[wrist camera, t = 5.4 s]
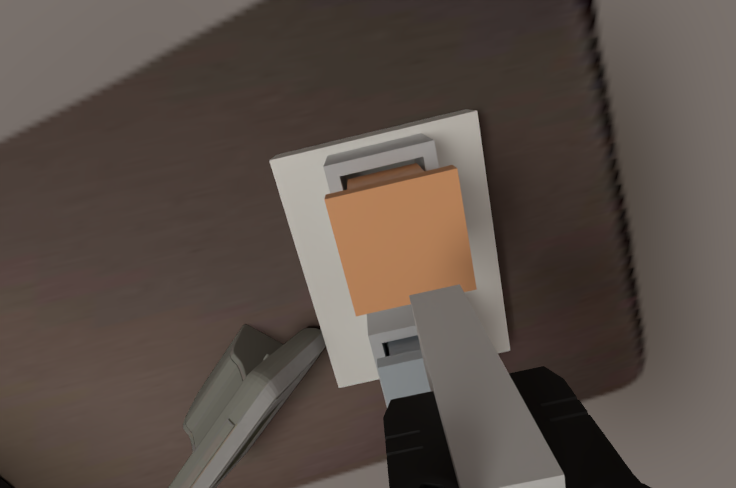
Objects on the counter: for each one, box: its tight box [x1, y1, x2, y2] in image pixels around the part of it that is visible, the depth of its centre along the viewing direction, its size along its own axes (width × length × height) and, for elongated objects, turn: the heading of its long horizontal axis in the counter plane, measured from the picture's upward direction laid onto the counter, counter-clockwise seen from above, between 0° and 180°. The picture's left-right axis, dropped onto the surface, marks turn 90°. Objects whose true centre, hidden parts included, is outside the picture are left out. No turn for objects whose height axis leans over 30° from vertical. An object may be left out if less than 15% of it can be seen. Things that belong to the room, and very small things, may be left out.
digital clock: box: [168, 324, 326, 488], centre depth 35 cm, size 16×9×11 cm, turn 134°
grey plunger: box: [377, 335, 430, 405], centre depth 31 cm, size 6×6×8 cm
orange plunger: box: [324, 163, 477, 316], centre depth 24 cm, size 6×6×8 cm
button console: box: [269, 109, 510, 408], centre depth 33 cm, size 15×20×8 cm
